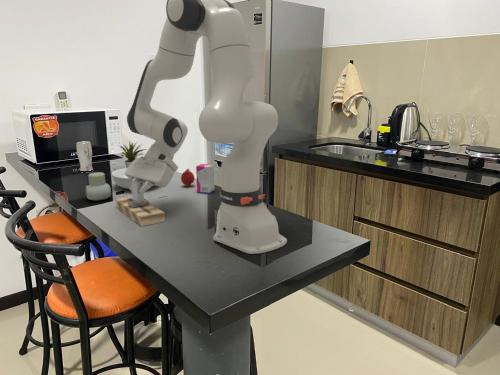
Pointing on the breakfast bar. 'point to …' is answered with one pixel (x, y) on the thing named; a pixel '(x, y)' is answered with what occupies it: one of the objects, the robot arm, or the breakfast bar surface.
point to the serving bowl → (122, 178)
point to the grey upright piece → (137, 195)
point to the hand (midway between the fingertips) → (136, 192)
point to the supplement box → (205, 178)
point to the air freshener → (97, 187)
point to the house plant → (131, 153)
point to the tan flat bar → (141, 212)
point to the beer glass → (84, 155)
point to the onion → (187, 177)
